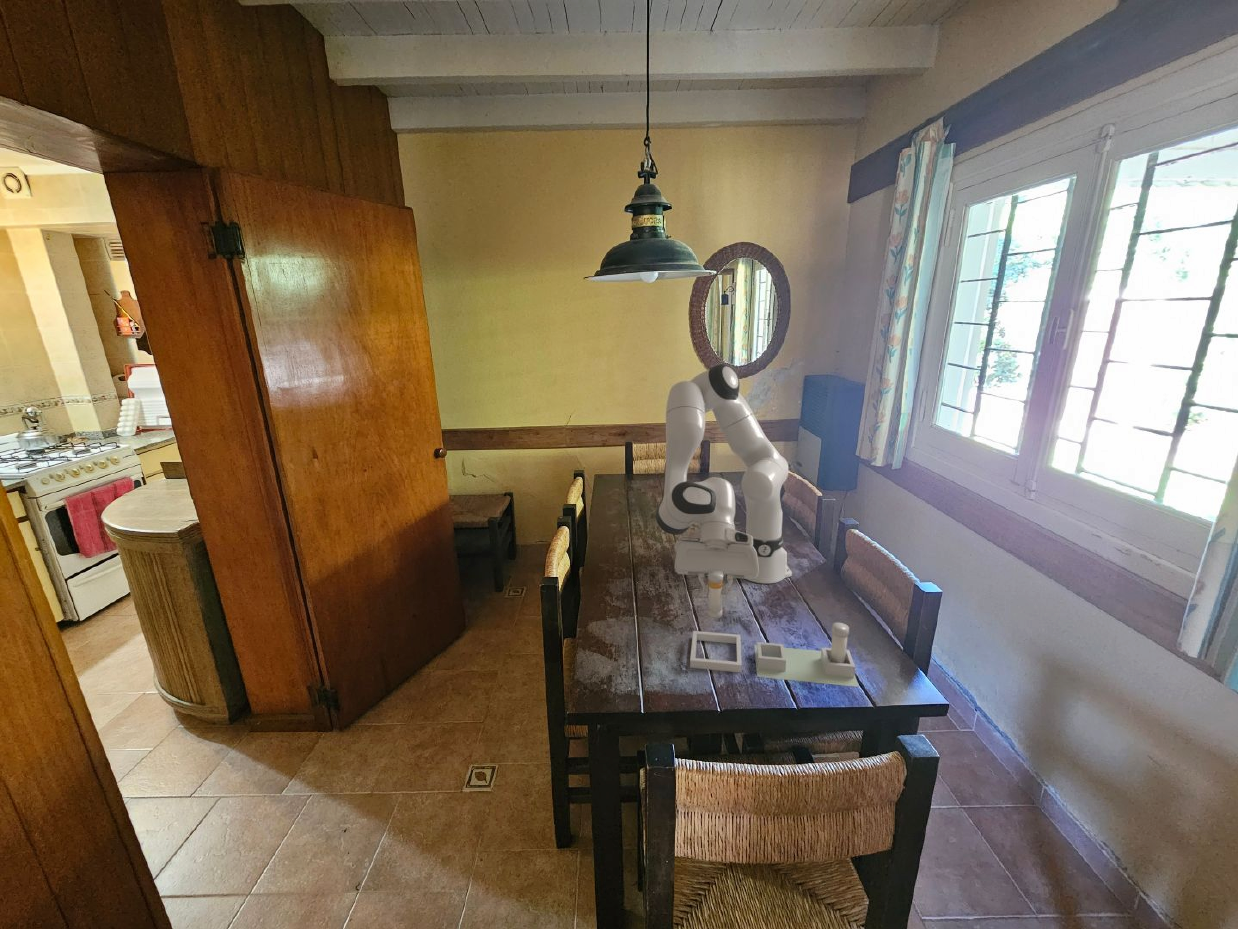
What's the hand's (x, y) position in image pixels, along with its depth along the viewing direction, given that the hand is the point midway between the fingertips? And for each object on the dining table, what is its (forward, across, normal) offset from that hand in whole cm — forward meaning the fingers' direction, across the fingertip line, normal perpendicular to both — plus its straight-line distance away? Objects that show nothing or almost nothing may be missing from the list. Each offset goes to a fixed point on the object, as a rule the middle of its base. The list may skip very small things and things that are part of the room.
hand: (715, 593), depth 121 cm
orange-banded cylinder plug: (+4, 0, +5) cm, 6 cm away
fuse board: (+13, +21, +12) cm, 28 cm away
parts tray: (+12, 0, +13) cm, 18 cm away
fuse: (+12, +28, +12) cm, 33 cm away
